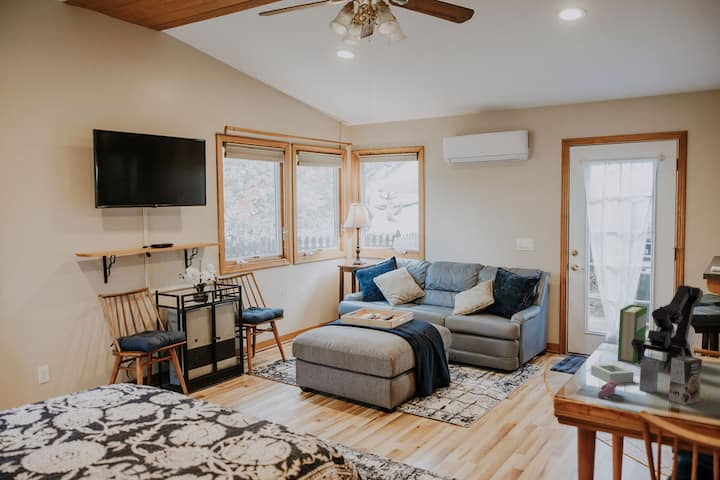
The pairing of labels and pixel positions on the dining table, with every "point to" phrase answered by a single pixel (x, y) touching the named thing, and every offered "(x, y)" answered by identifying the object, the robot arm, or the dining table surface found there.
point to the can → (690, 339)
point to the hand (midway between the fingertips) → (651, 366)
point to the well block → (612, 373)
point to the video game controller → (607, 389)
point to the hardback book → (631, 331)
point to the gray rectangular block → (649, 375)
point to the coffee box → (685, 380)
